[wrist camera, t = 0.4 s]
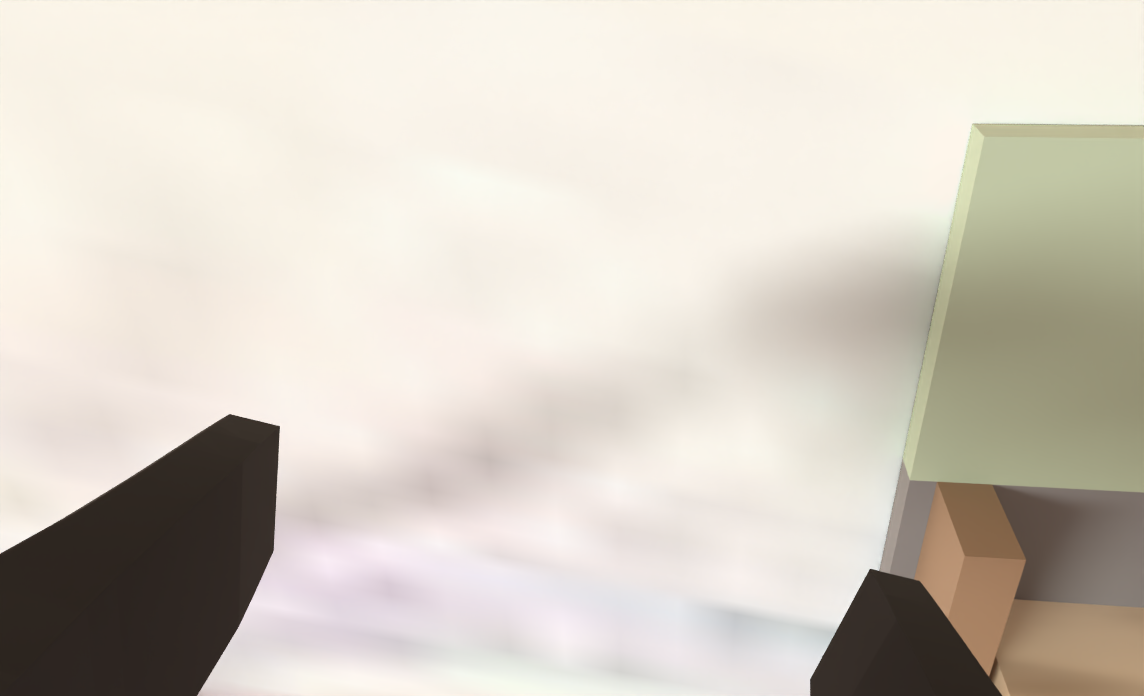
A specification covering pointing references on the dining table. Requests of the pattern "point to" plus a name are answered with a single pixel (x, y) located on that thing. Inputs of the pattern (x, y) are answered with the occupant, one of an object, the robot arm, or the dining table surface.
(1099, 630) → the birch block
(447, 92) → the dining table surface
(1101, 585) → the chute
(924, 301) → the dining table surface
